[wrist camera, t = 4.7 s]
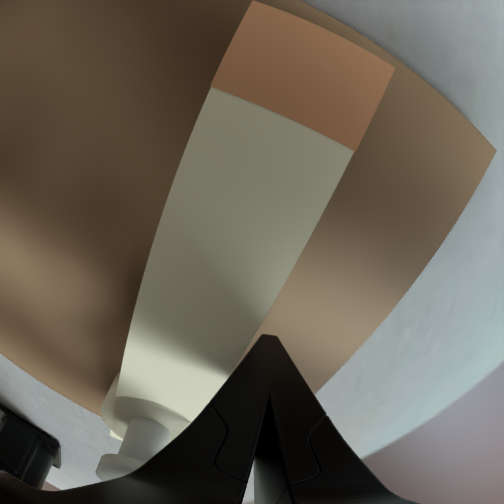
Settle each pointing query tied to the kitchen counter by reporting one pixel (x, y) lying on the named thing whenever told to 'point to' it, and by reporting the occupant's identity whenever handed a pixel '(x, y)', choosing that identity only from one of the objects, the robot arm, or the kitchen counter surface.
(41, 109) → the base plate
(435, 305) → the kitchen counter surface
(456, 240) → the kitchen counter surface
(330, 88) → the bar
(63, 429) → the kitchen counter surface
